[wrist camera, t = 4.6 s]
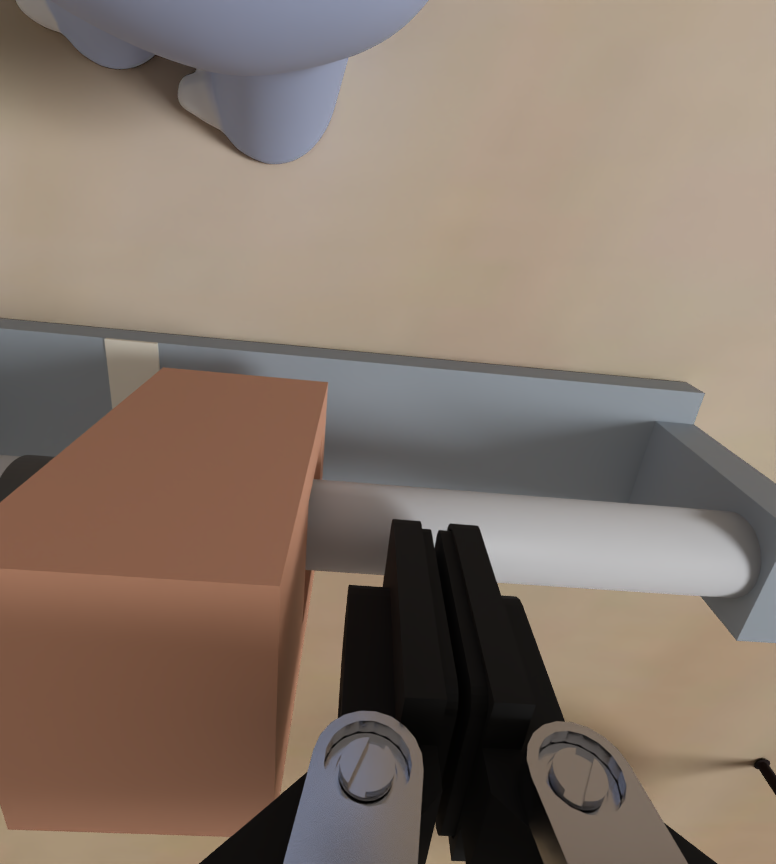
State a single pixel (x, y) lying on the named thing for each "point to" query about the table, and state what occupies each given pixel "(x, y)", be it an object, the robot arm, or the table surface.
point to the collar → (159, 609)
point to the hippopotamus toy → (237, 56)
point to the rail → (455, 460)
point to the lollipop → (767, 773)
